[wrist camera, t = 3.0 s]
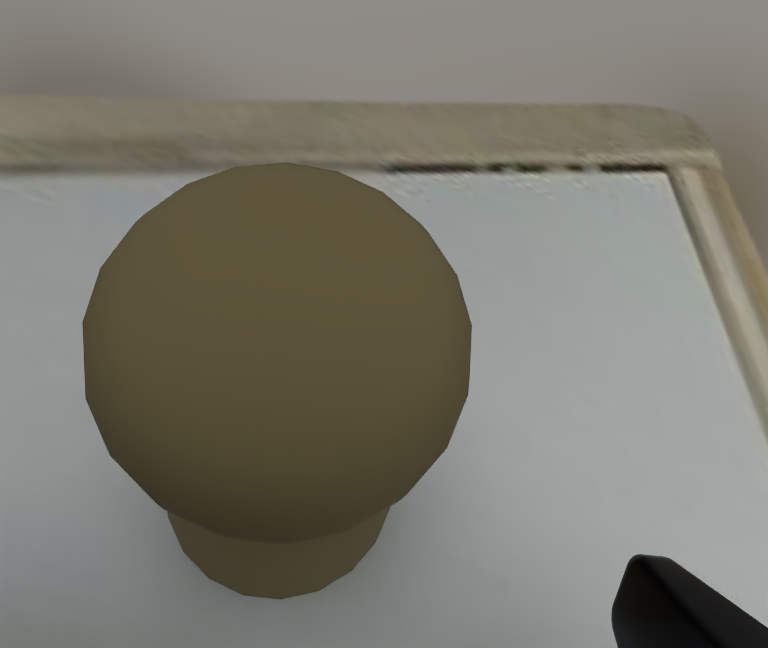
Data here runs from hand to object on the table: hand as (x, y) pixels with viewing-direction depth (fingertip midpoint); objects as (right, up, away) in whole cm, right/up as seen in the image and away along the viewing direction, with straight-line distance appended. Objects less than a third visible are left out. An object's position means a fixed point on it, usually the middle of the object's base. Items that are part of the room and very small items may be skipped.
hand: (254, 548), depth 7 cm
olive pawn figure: (-1, -2, +10) cm, 10 cm away
